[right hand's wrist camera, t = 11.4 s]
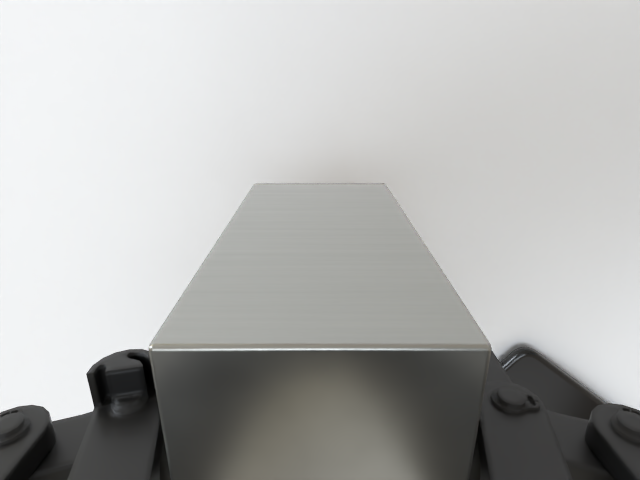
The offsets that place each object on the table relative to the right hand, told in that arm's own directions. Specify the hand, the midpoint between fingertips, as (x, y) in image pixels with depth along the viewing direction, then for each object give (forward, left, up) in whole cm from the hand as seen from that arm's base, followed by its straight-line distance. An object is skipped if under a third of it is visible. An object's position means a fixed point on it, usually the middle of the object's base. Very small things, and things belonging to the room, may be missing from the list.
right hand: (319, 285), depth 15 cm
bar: (-2, +9, -1) cm, 9 cm away
